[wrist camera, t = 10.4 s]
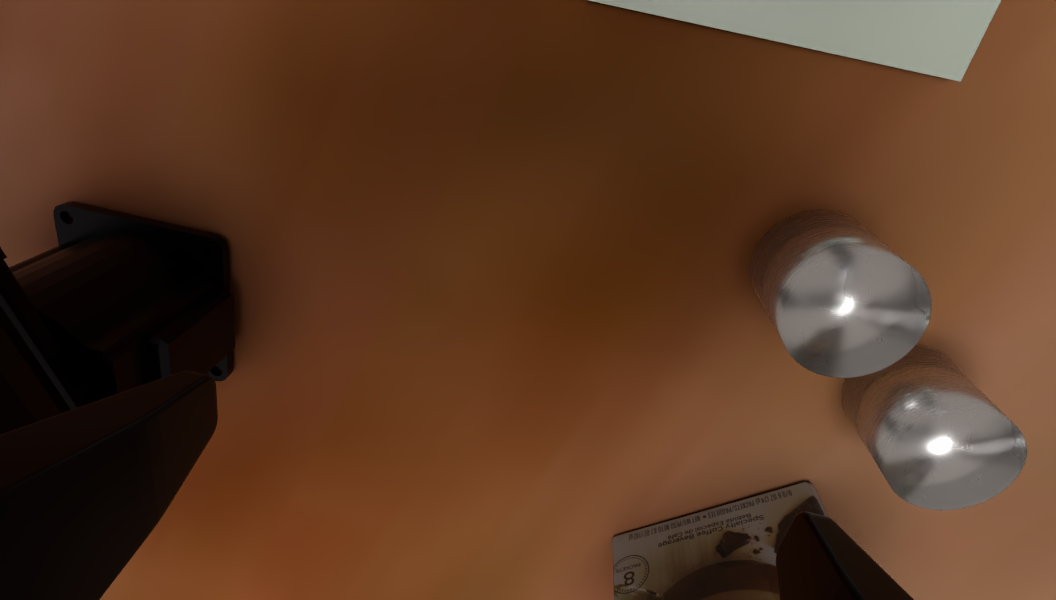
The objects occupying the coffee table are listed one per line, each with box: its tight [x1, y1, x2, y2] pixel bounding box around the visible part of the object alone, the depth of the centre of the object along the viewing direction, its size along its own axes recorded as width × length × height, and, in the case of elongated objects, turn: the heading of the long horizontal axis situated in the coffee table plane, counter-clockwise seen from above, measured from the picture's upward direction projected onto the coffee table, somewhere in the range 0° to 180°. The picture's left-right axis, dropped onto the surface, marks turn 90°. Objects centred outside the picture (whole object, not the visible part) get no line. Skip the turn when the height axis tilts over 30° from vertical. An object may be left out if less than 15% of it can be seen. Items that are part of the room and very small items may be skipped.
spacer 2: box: [841, 344, 1027, 510], centre depth 21 cm, size 4×4×4 cm
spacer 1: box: [750, 210, 931, 378], centre depth 19 cm, size 4×4×4 cm
